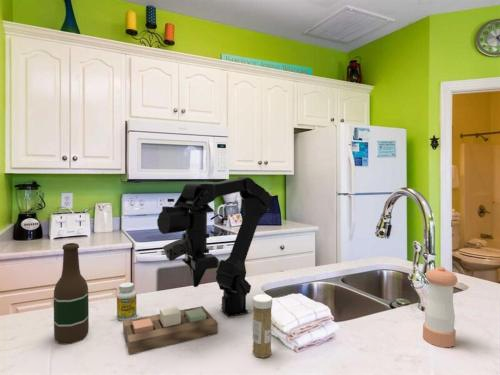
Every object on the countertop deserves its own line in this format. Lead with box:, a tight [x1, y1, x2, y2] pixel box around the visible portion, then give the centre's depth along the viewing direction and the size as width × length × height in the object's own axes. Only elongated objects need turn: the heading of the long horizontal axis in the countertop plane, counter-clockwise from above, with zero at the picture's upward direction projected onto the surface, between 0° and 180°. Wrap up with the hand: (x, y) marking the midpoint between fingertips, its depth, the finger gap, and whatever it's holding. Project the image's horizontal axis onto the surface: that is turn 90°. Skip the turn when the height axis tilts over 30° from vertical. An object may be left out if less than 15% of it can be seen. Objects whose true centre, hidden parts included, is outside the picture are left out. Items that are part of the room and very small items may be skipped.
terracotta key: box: [132, 318, 153, 334], centre depth 83 cm, size 4×4×3 cm
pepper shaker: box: [422, 266, 458, 348], centre depth 84 cm, size 7×7×19 cm
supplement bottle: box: [116, 282, 138, 322], centre depth 95 cm, size 5×5×10 cm
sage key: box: [186, 309, 206, 323], centre depth 89 cm, size 4×4×3 cm
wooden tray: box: [122, 305, 219, 356], centre depth 86 cm, size 22×12×3 cm, turn 118°
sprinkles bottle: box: [252, 294, 273, 358], centre depth 77 cm, size 5×5×14 cm
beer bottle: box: [53, 242, 90, 345], centre depth 83 cm, size 8×8×24 cm
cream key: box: [159, 305, 181, 327], centre depth 86 cm, size 4×4×3 cm
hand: (195, 286), depth 89 cm, fingers closed
